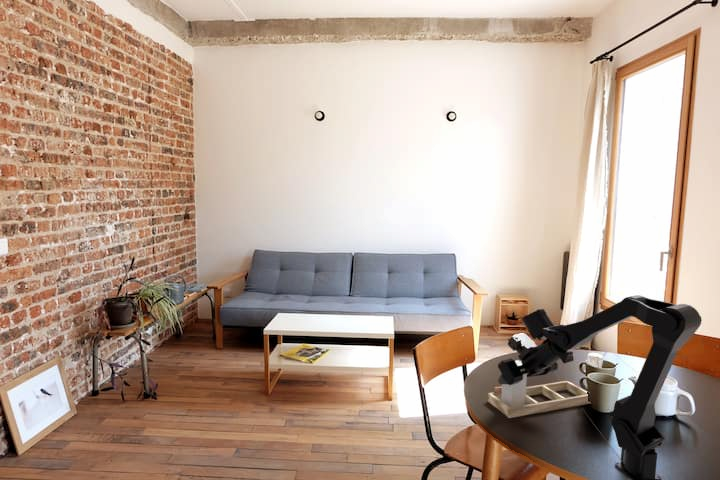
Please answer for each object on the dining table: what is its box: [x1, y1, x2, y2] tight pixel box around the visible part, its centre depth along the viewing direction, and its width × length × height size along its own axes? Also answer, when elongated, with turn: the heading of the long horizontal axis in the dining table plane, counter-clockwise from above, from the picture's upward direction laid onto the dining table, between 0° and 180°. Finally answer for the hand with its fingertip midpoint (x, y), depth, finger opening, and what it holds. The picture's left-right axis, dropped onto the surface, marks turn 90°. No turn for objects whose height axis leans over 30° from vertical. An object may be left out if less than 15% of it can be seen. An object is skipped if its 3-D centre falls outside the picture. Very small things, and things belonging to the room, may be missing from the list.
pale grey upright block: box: [501, 359, 528, 408], centre depth 128 cm, size 4×6×12 cm, turn 121°
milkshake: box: [587, 351, 607, 369], centre depth 146 cm, size 4×5×10 cm
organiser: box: [487, 380, 592, 419], centre depth 131 cm, size 10×29×4 cm, turn 108°
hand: (510, 379), depth 129 cm, fingers open, 9 cm apart
